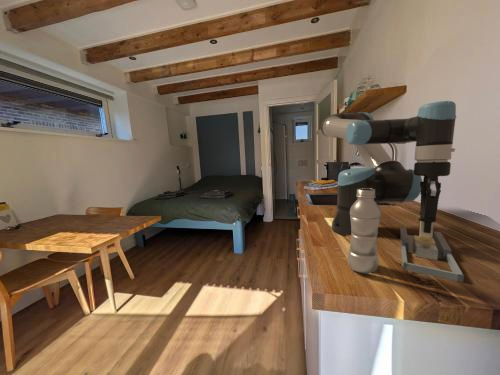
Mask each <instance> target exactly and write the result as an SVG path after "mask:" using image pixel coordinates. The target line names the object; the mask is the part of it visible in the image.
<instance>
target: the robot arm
mask: <svg viewBox="0 0 500 375" xmlns="http://www.w3.org/2000/svg"><path fill="white" fill-rule="evenodd" d="M456 107H457V106H456V103H455V102H454V101H450V100H440V101H435V102H430V103H426V104H423V105H421V106H419V108H418V111H417V115H416V116H413V117H409V118H408V117H407V118H393V119H374V117H373V115H372V114H371V113H369V112H363V111H359V112H345V113H344V112H343V113H334V114H329V115H328V116H326V117H325V118H324V119H323V120H322V121H321V123H320V131H321V134H322V135H323V136H325V137H327V138H338V139H339V138H340V139H344V140H346V142H347V143H348V144H349V145H352V146H354V147H355V149H356V150H357V152H358V154H359V156H360V157H361V159H362V161H363V163H364V164H365V165H366V167H365V166H364V167H355V168H349V169H344V170H342V171H340V172H339V174H338V177H337V200H336V201H337V204H336V206H337V207H336V212H335V214H334V217H333V220H332V222H331V230H332V231H333V232H334V233H336V234H339V235H341V236H344V237H346V236H351V233H352V232H351V219H350V208H351V206H352V205H353V204H354V202H355V201H356V200H357V199H358V197H356V195H357V189H360V188H368V189H375V196H376V197H375V198H374V201H375V202H376V203H377V204H387V203H388V204H391V203H392V204H393V203H399V204H402V203H408V202H409V203H410V202H413V201H415V200H416V199H417V198H418V197H419V196H420V206H419V207H420V208H419V215H420V218H419V217H418V222H420V224H419V235H418V236H423V237H429V238H433V237H434V223H435V222H436V221H437V213H438V207H439V199H440V195H441V192H442V190H441V188H442V182H440V181H439V177H448V176H450V174H451V165H452V163H451V162H450V161H449V160H451V159H452V153H454V152H455V151H456V149H455V148H453V144H454V142H453V141H454V135H455V134H454V133H455V124H456V119H457V110H456V109H457V108H456ZM409 143H415V149H414V161H416V162H414V166H413V169H412V168H410V169H406V168H405V167H404V166H403V164H402V163H401V162H400V161H398V160H394V159H392V158H391V156H390V155H389V153H388V152H387V151H386V149H385V148H384V147H383V144H384V145H385V144H395V145H396V144H398V145H401V144H402V145H405V144H409ZM422 177H423V178H422Z"/></svg>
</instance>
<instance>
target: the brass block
mask: <svg viewBox="0 0 500 375" xmlns="http://www.w3.org/2000/svg"><path fill="white" fill-rule="evenodd" d="M413 236H414V239H413V247H414V248H415V242H421V243H428V244H434V245H435V241H434V239H433V238H434V237H432V238H429V237H423V236H419V235H416V234H415V235H413Z"/></svg>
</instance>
